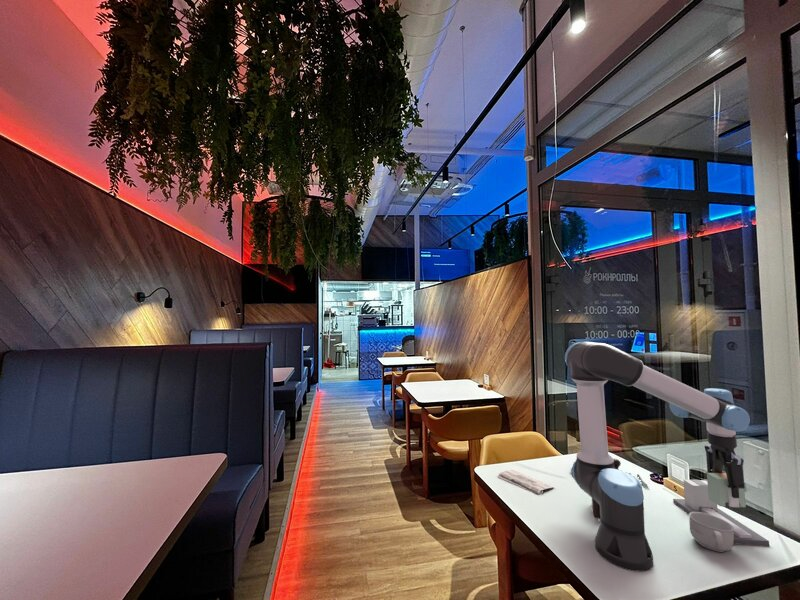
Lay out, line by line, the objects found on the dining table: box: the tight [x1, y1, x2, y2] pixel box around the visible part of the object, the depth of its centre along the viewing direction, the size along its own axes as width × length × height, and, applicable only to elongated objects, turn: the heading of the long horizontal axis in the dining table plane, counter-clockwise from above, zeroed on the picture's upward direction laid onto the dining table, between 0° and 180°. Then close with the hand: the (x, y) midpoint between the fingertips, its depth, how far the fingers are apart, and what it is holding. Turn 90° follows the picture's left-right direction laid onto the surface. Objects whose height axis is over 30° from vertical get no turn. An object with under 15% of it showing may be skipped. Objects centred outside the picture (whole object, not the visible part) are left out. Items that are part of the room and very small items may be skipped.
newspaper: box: [497, 469, 555, 495], centre depth 155 cm, size 23×12×2 cm, turn 32°
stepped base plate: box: [672, 479, 770, 547], centre depth 124 cm, size 12×26×11 cm, turn 174°
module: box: [706, 472, 747, 508], centre depth 120 cm, size 8×5×9 cm, turn 84°
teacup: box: [688, 512, 734, 553], centre depth 110 cm, size 14×11×8 cm
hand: (726, 502), depth 120 cm, fingers closed on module, 5 cm apart
